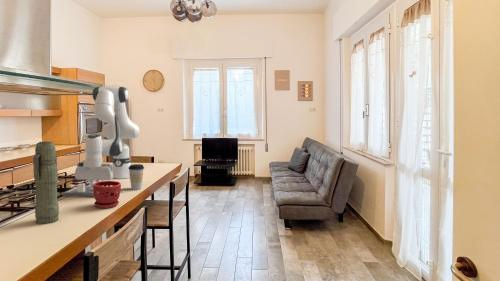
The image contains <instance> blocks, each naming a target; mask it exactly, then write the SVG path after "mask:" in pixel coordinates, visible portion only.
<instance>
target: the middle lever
mask: <svg viewBox="0 0 500 281" xmlns="http://www.w3.org/2000/svg"><path fill="white" fill-rule="evenodd" d="M92 182H93V181H92ZM94 183H96V182H93V184H94ZM88 187H89V190H93V188H92V187H91V184H90V182H89V181H88Z"/></svg>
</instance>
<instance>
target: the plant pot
mask: <svg viewBox="0 0 500 281" xmlns="http://www.w3.org/2000/svg"><path fill="white" fill-rule="evenodd" d="M97 191H98V192H97ZM121 191H122V183H121V182H119V181H116V180H115V181H114V180H101V181H100V182H96V183H94V184H93V193H94V197H93V198H94V200H95V201H94V203H93V205H94V206H95V207H97V208H100V209H110V208H114V207H116V206H118V205H119V204H120V203H119V202H120V201H119V198H120V195H121Z"/></svg>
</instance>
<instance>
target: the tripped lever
mask: <svg viewBox="0 0 500 281" xmlns="http://www.w3.org/2000/svg"><path fill="white" fill-rule="evenodd" d="M85 186H86V183H77V185H76V187H77V192H85Z"/></svg>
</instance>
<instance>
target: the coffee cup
mask: <svg viewBox="0 0 500 281" xmlns="http://www.w3.org/2000/svg"><path fill="white" fill-rule="evenodd" d="M128 169H129V171H130V178H129V180H130V188H131V190H132V191H138V190H141V189H142V184H143V178H144V176H143V175H144V169H145V166H144V165H143V164H140V163H139V164H137V163H135V164H132V165H130V167H129V168H128Z"/></svg>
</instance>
